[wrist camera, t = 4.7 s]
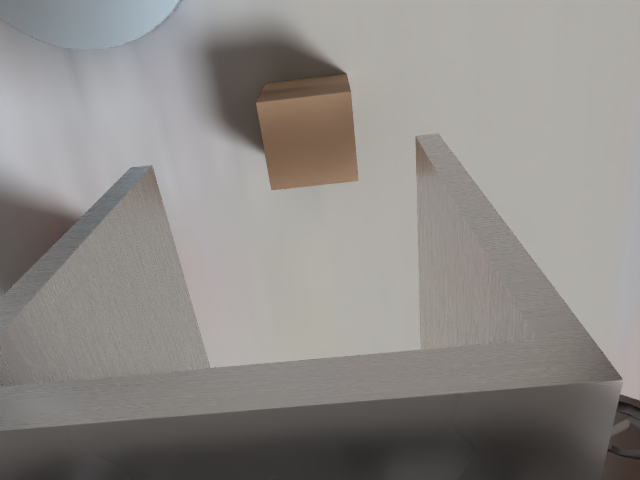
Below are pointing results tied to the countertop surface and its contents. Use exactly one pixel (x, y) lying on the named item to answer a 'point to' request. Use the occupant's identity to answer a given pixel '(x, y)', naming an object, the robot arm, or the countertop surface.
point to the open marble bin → (298, 364)
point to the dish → (86, 20)
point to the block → (308, 131)
